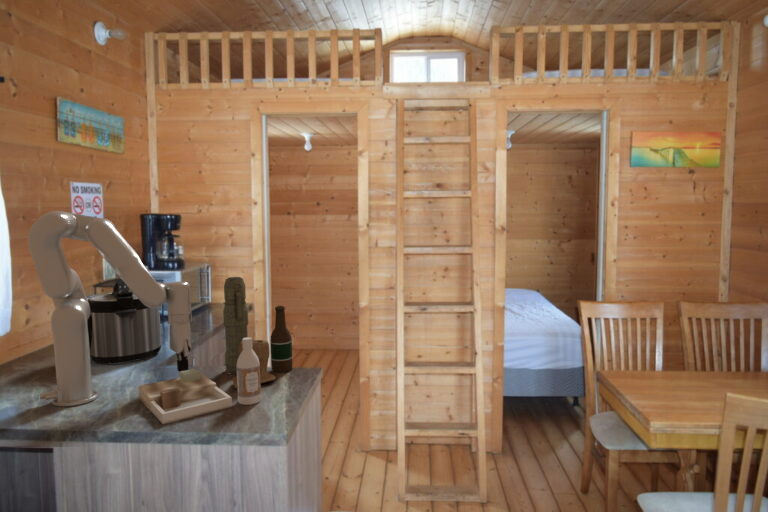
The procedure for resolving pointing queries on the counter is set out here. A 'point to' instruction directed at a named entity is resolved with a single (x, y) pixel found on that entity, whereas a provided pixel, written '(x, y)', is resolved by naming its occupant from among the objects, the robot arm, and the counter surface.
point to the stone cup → (263, 355)
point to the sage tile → (189, 375)
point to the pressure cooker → (122, 327)
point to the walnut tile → (170, 398)
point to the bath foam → (248, 375)
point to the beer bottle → (281, 344)
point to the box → (193, 407)
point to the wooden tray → (186, 389)
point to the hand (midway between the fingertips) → (183, 370)
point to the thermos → (234, 320)
